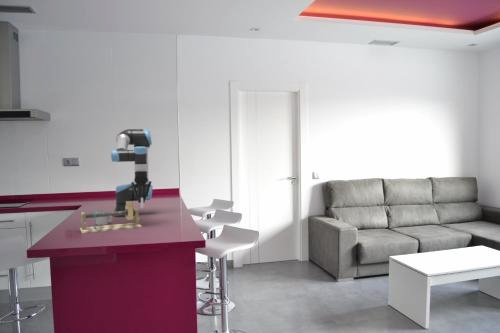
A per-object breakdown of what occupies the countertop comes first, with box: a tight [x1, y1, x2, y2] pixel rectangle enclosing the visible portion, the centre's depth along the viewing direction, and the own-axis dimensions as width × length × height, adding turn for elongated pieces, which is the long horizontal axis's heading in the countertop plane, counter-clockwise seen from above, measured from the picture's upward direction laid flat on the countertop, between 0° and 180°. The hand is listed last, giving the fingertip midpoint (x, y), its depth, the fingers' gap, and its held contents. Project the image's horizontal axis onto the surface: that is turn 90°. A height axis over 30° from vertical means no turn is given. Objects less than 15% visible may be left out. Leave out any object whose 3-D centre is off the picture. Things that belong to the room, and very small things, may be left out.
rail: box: [79, 208, 142, 234], centre depth 235 cm, size 34×12×11 cm, turn 119°
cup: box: [95, 209, 113, 226], centre depth 252 cm, size 7×10×9 cm
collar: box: [125, 201, 134, 221], centre depth 241 cm, size 3×8×11 cm, turn 29°
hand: (141, 207), depth 244 cm, fingers closed
